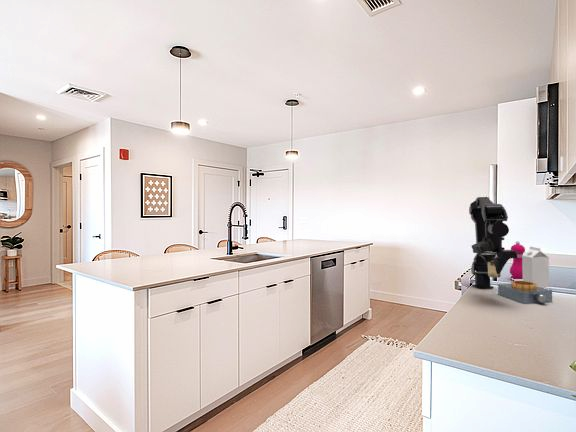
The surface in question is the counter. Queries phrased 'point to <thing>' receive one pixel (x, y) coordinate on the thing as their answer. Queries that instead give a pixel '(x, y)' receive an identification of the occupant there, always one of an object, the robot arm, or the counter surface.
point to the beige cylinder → (492, 269)
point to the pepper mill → (517, 261)
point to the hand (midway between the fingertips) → (494, 272)
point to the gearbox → (525, 292)
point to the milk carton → (536, 267)
